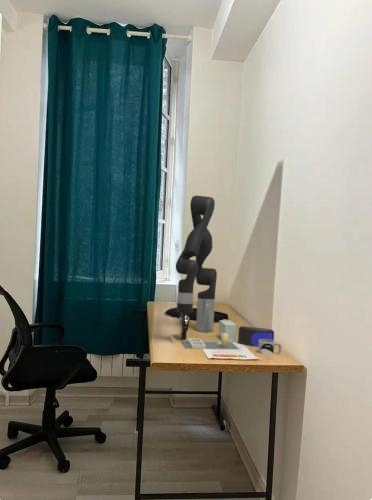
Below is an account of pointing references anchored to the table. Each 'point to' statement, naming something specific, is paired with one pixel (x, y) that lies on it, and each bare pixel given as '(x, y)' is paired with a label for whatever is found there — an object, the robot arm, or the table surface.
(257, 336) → the leaning round-cornered charcoal block
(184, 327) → the pin
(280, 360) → the table surface
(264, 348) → the mug
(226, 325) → the block
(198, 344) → the board
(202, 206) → the robot arm
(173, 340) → the table surface
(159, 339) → the table surface
